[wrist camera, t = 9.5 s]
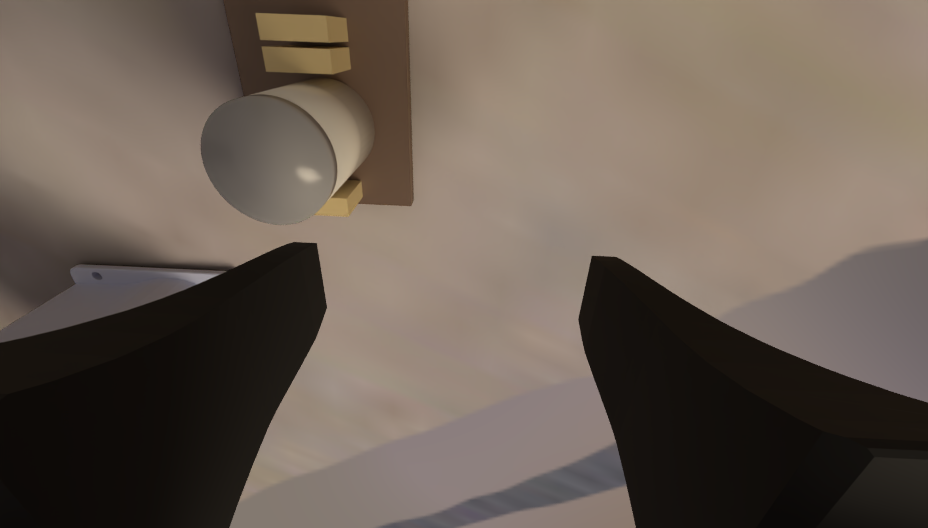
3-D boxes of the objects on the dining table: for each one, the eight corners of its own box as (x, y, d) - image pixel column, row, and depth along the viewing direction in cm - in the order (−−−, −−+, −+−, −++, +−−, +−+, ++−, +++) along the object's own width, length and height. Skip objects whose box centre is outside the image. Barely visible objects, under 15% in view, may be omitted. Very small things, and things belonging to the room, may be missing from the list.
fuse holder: (273, 194, 20) (240, 219, 18) (195, -190, 14) (122, -247, 11) (413, 200, 20) (403, 226, 17) (402, -183, 14) (382, -239, 11)
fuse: (291, 170, 19) (220, 222, 14) (275, 75, 17) (183, 93, 12) (377, 174, 19) (338, 227, 14) (371, 79, 17) (322, 99, 12)
